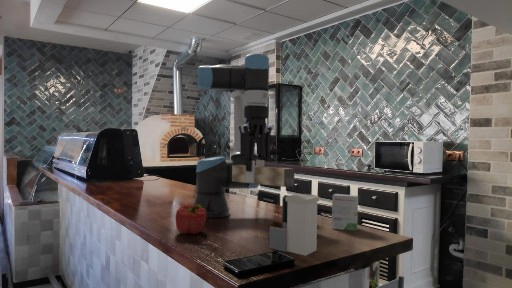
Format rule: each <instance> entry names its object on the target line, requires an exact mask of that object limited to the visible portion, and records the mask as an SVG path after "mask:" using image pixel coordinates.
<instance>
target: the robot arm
mask: <svg viewBox="0 0 512 288" xmlns="http://www.w3.org/2000/svg"><path fill="white" fill-rule="evenodd" d="M196 73H197V77H196V79H197V80H196V82H197V83H196V85H197V86H196V87H197V88H198V89H201V90H212V91H217V92H226V93H230V97H231V98H232V99H233V145H234V146H233V153H232V154H231V155H230V159H229V160H228V159H227V158H226V156H214V157H206V158H202V159H200V160H198V161H197V163H196V170H195V173H196V187H195V188H196V189H195V190H196V191H195V192H196V194H195V199H194V203H193V206H194V205H196V204H198V205H201V206H202V207H203V209H205V210H206V213H207V216H206V219H220V218H225V217H228V216H229V215H230V208H229V207H230V206H228V201H227V198H226V190H228V189H229V190H230V189H231V190H233V189H235V190H236V189H237V190H238V189H244V190H245V189H246V190H249V189H257V188H258V187H259V186H260V185H261V184H254V183H255V166H265V167H266V161H268V160H269V158H270V157H271V156H270V155H271V154H270V153H271V134H272V130H273V128H272V127H271V126H268V125H267V121H266V120H267V119H268V118H269V106H267V105H269V93H270V92H269V90H270V89H269V87H270V86H269V85H270V83H269V78H270V58H269V56H268V55H266V54H262V53H250V54H247V55H246V56H245V58H244V64H243V65H241V64H240V65H239V64H238V65H236V64H217V65H199V66H198V67H197V71H196ZM255 148H256V150H255ZM232 165H246V182H251V183H244V182H235V181H232Z"/></svg>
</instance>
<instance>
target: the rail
mask: <svg viewBox="0 0 512 288" xmlns="http://www.w3.org/2000/svg"><path fill="white" fill-rule="evenodd" d="M232 181H235V182H244V183H251V182H246V165H232ZM254 184H260V185H266V186H273V187H284V188H288V187H289V188H290V187H294V186H295V168H291V167H278V166H266V165H265V166H255V183H254Z"/></svg>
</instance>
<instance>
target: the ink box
mask: <svg viewBox="0 0 512 288" xmlns="http://www.w3.org/2000/svg"><path fill="white" fill-rule="evenodd" d="M331 201H332V202H331V203H332V204H331V205H332V206H331V229H332V230H343V231H350V232H351V231H353V232H357V230H358V214H359V212H358V211H359V210H358V209H359V195H354V194H341V193H334V194H332V200H331Z"/></svg>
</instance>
